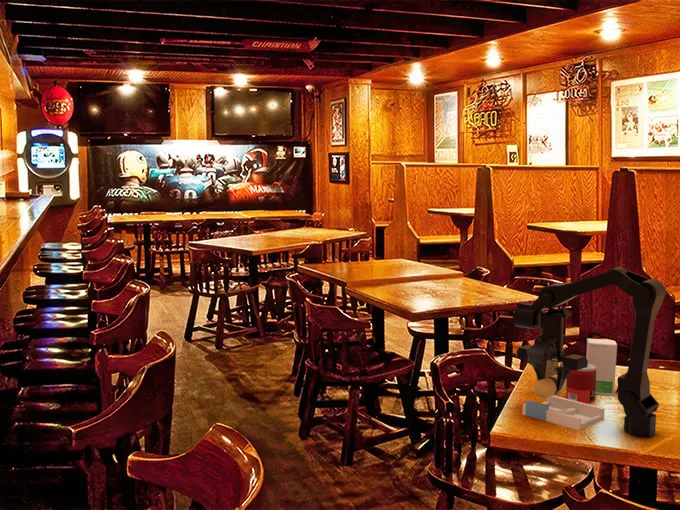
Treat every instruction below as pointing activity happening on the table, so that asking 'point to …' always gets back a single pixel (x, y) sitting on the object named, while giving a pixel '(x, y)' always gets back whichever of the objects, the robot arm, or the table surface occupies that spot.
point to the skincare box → (603, 364)
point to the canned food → (582, 385)
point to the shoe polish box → (551, 368)
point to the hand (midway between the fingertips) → (550, 388)
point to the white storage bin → (564, 412)
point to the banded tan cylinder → (548, 387)
